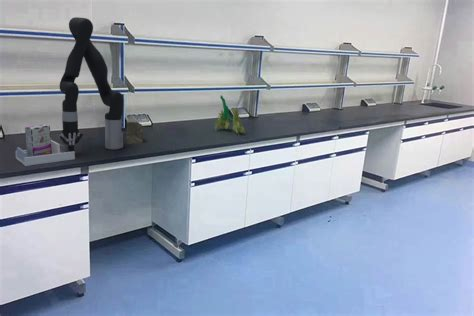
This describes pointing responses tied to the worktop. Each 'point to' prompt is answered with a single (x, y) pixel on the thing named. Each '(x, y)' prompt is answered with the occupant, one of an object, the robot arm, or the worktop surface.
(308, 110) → the worktop surface
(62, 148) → the pusher
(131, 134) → the stone block
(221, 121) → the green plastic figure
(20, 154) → the grey shallow tray
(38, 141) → the candy bar box
